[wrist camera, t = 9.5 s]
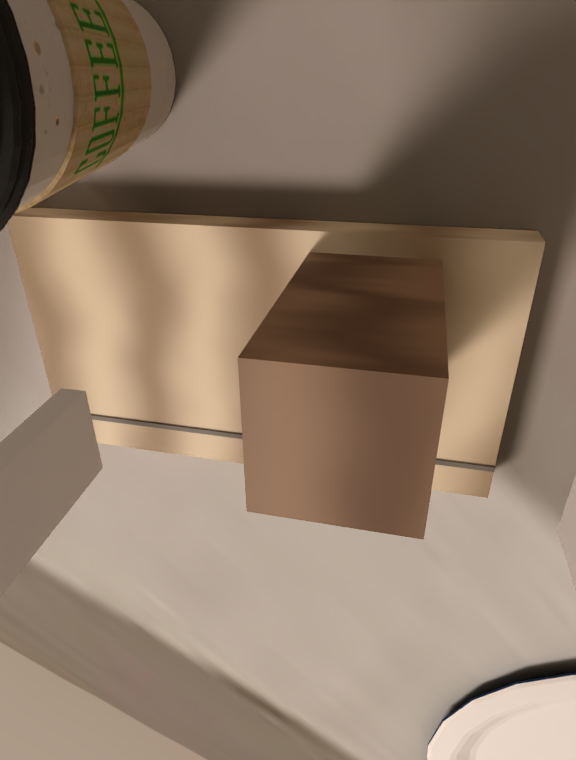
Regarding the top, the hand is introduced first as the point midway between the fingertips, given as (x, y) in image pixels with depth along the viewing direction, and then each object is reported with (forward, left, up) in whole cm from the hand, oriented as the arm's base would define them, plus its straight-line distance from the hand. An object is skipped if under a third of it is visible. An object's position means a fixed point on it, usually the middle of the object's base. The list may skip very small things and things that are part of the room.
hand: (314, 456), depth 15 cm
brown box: (0, -4, -13) cm, 14 cm away
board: (-6, -4, -15) cm, 17 cm away
